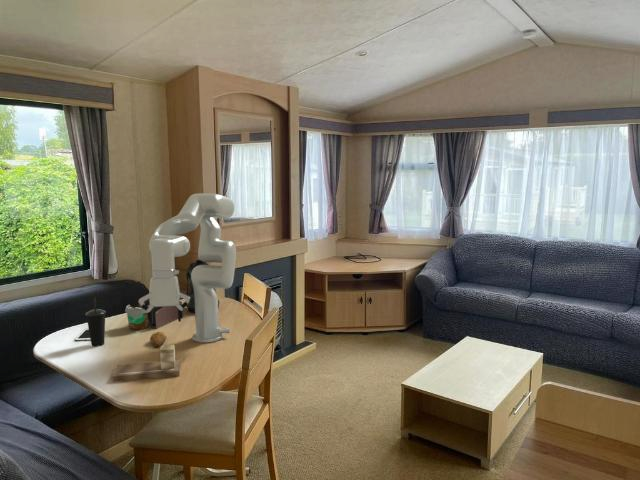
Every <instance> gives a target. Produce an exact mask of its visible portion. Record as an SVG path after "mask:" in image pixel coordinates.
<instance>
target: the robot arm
mask: <svg viewBox="0 0 640 480" xmlns="http://www.w3.org/2000/svg"><path fill="white" fill-rule="evenodd" d="M234 213H235V203H234V201H233V200H232V199H231V198H230V197H227V196H224V195H222V194H218V193H202V192H201V193H193V194H191V195H190V196H189V197H188V198H187V200H186V201H185V203H184V204H183V207H182V208H181V210H180V211H179V212H178V214H177V215H175V216H172V217H171V218H169V219H168V220H165V221H164V222H162V223H161V224H159V225H158V226H157V227H156V229H155V230H154V232H153V233H152V234H151V237H150V240H149V243H148V248H149V251H150V253H151V269H152V270H151V272H152V274H151V275H152V277H150V280H149V293H147V294H148V295H147V294H145V295H146V296H145V295H144V296H145V297H143V296H142V297H143V298H141V297H140V298H141V299H140V298H139V299H138V300H139V303H140V305H141V306H142V308H143V309H144V310H146V312H148V321H150V324H151V323H152V322H153V313H152V308H153V307H164V306H176V307H177V308H178V319H177V320H178V322H181V320H182V319H183V318H184V315H183V314H184V311H183V310H184V309H185V308H187V304H188V302H189V300H190V297H189V295H187V294H184V293H182V292H181V291H180V283H179V278H178V276H177V275H179V274H180V270H179V269H176V266H175V258H177V257H179V258H180V257H184V256H186V255H187V254H188V253H189V252H190V250H191V243H190V240H189V239H188V238H187V237H186V236H184V235H183V234H187V233H189V232H193V231H194V230H196V229H198V226H200V234H199V235H200V236H199V243H198V252H197V253H198V254H197V256H198V260H201V261H204V262H206V263H212V264H213V265H212V264H208V265H199V266H196V267H195V268H194V269H193V270H192V273H191V279H192V284H193V288H194V298H195V314H194V319H195V322H194V323H195V332H194V334H192V336H191V339H192V340H193V341H194V342H197V343H213V342H216V341H219V340H222V338H223V334H230V328H227V327H220V324H219V309H218V300H219V297H218V295H217V291H216V292H215V291H214V289H213V288H215V289H221V290H222V289H223V290H224V289H225V290H227V289H229V288H231V287H232V285H233V282H234V279H235V271H236V260H237V249H236V248H237V247H236V245H235V243H234V242H233V241H231V240H221V236H222V228H221V225H220V224H219V223H218V221H217V220H216V219H230V218H231V217H232V216H233V215H234ZM214 263H216V264H217V263H219V264H222V265H214ZM217 297H218V298H217ZM147 299H149V303H150V305H149V307H148V306H147V305H146V304H145V303H144V301H146V300H147ZM181 299H183V300H184V302H182V304H181V303H180V302H179V301H181Z"/></svg>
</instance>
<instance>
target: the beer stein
mask: <svg viewBox="0 0 640 480" xmlns="http://www.w3.org/2000/svg"><path fill="white" fill-rule="evenodd" d="M199 265H209V264H208V262H204V261H201V260H200V259H197V260H195V262H191V263H190V264H189V267H188V268H187V270H186V272H185V277H186V282H187V284H188V286H189V291H188V296H189V297H190V300H189V302H188V304H187V306H186V308H187V309H186V310H187V311H188V313H191V314H194V315H195V298H194V288H193V284H192V279H191V273H192V270H193V269H194V268H195V267H196V266H199ZM213 289H214V291H215V292H216V293H217V291H216V288H213ZM217 298H218V308H220V304H221V303H220V300H219V297H218V296H217Z"/></svg>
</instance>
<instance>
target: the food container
mask: <svg viewBox="0 0 640 480" xmlns="http://www.w3.org/2000/svg"><path fill="white" fill-rule="evenodd" d="M124 312H125V313H126V317H127V321H128V322H127V323H128V329H129V330H130V331H135V332H136V331H138V332H139V331H144V330H148V329H150V328H149V321H148V312H146V310H144V309H143V308H141V307H138V306H131V305H130V304H128V305H126V307H125V310H124Z"/></svg>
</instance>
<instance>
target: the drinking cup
mask: <svg viewBox="0 0 640 480" xmlns="http://www.w3.org/2000/svg"><path fill="white" fill-rule="evenodd" d="M93 307H94V308H93V309H90V310H89V311H87V312H85V313H84V314H85V316H86V320H87V321H86V322H87V329H88V328H89V333H90V339H91V341H90V343H91V346H92V347H94V348H95V347H102V346H103V345H105V334H106V333H105V331H106V330H105V329H106V314H107V312H106V310H103V309H101V308H100V309H99V308H97V300H96V296H95V297H93Z"/></svg>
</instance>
